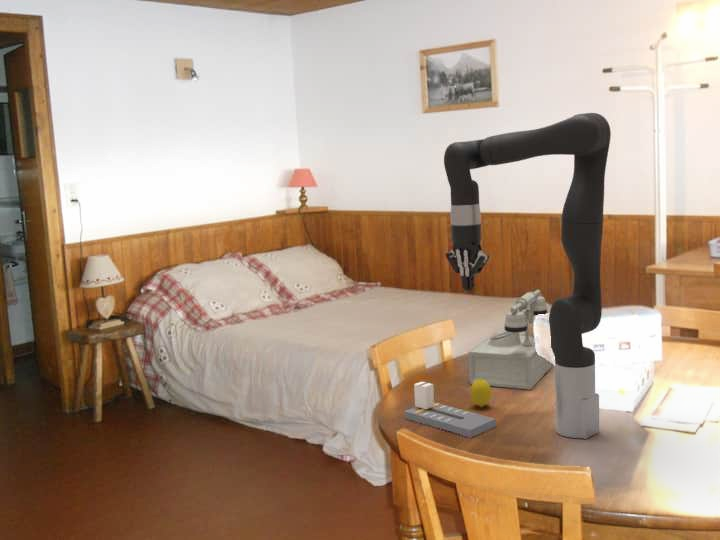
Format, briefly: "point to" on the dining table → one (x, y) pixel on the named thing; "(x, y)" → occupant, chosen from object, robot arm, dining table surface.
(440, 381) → the dining table surface
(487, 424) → the console board
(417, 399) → the fader tab
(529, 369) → the pale grey angular base
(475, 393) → the lemon
